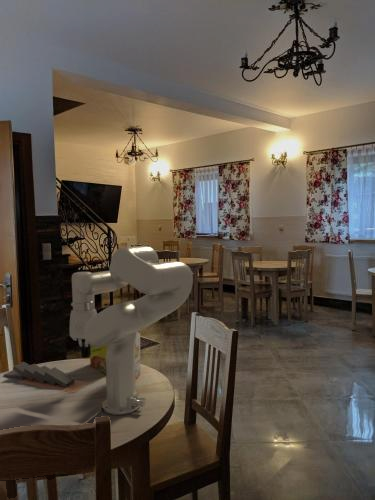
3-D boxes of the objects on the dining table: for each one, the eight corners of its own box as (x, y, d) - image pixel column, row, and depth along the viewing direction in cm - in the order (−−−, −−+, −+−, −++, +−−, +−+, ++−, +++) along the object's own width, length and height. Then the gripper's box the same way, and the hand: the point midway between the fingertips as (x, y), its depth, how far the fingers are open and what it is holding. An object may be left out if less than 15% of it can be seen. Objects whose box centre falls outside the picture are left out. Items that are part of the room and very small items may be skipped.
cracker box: (129, 392, 137) (128, 335, 135) (113, 391, 138) (112, 334, 137) (141, 377, 151) (140, 324, 149) (127, 375, 152) (126, 324, 150)
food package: (89, 367, 162) (88, 320, 160) (91, 366, 162) (90, 319, 161) (108, 377, 150) (106, 327, 149) (110, 376, 151) (109, 327, 150)
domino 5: (74, 378, 143) (54, 367, 146) (66, 384, 138) (45, 371, 142) (73, 382, 143) (53, 370, 147) (65, 388, 139) (44, 375, 142)
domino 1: (32, 370, 151) (13, 370, 155) (22, 375, 146) (3, 374, 150) (33, 374, 151) (14, 373, 155) (23, 379, 146) (4, 378, 150)
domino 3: (53, 375, 147) (34, 363, 150) (44, 380, 142) (24, 368, 145) (52, 378, 147) (33, 367, 150) (43, 383, 142) (23, 371, 146)
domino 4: (64, 377, 145) (44, 365, 148) (55, 382, 140) (34, 370, 144) (63, 380, 145) (43, 369, 148) (54, 386, 140) (33, 373, 144)
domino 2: (42, 372, 149) (23, 361, 152) (33, 377, 144) (13, 366, 147) (41, 376, 149) (22, 365, 152) (32, 381, 144) (12, 369, 148)
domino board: (88, 385, 143) (88, 382, 143) (73, 395, 135) (73, 392, 135) (34, 375, 153) (34, 373, 153) (17, 384, 145) (17, 381, 145)
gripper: (60, 307, 137) (62, 358, 138) (95, 309, 131) (97, 362, 132) (73, 303, 144) (75, 351, 145) (107, 305, 138) (109, 355, 139)
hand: (86, 356), depth 138 cm, fingers closed
